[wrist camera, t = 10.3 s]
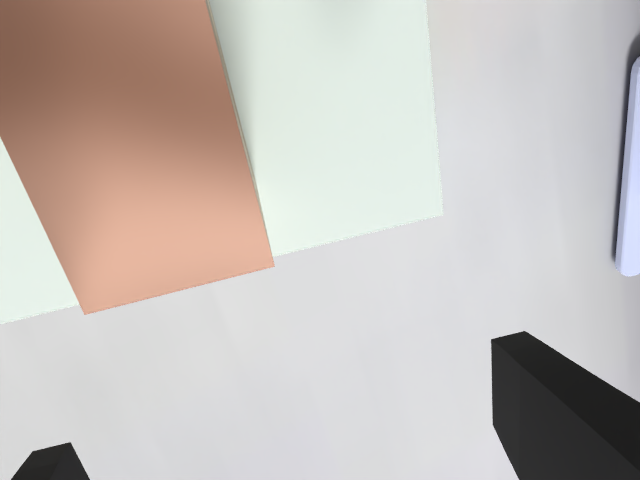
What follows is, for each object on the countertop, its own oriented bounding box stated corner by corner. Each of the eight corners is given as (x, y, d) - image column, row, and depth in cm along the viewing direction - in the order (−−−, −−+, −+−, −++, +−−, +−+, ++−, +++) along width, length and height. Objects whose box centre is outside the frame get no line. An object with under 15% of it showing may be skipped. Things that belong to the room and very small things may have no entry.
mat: (387, -324, 12) (397, -341, 12) (434, 205, 19) (443, 214, 18) (-335, -201, 11) (-370, -211, 11) (-30, 318, 17) (-40, 334, 17)
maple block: (255, 181, 16) (274, 266, 12) (117, 215, 16) (84, 314, 12) (170, -149, 13) (151, -203, 8) (-14, -113, 12) (-135, -149, 8)
